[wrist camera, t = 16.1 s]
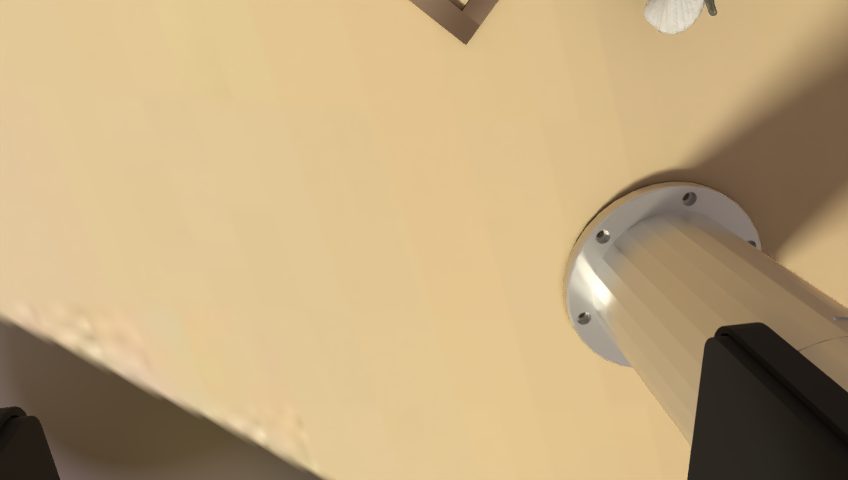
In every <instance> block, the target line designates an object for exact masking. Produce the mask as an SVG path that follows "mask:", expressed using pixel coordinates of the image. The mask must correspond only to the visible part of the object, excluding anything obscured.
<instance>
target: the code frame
mask: <svg viewBox="0 0 848 480" xmlns="http://www.w3.org/2000/svg"><path fill="white" fill-rule="evenodd" d="M410 1H411V2H412V3H414V4H415V5H416V6H417V7H419V8H420V9H421V10H422V11H424V12H425V13H426V14H428V15H429V16H430V17H431V18H433V19H434V20H435V21H436V22H438V23H439V24H440V25H441V26H443V27H444V28H445V29H447V30H448V31H449V32H450V33H452V34H453V35H454V36H455V37H457V38H458V39H459V40H460V41H462V42H463V43H464V44H467V43H468V41H469V40H470V39H471V37H472V36H473V35H474V33H475V32H476V30H477V29H478V28H479V26H480V25H481V24H482V22H483V21H484V19H485V18H486V17H487V15H488V14H489V13H490V11H491V10H492V8H493V7H494V6H495V4H496V3H497V2H498V0H469V1H468V2H467V4H466V5H465V6H464V8H463V9H462V11H461V10H460V9H459V8H458V7H456V6H455V5H454V4H453V3H452V2H450V1H449V0H410Z"/></svg>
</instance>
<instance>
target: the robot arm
mask: <svg viewBox="0 0 848 480" xmlns="http://www.w3.org/2000/svg"><path fill="white" fill-rule="evenodd" d="M685 194H686V195H685ZM684 195H685V196H684ZM600 231H601V233H600V234H599V235H597V234H598V233H599V232H600ZM563 299H564V304H565V309H566V313H567V315H568V318H569V320H570V322H571V324H572V326H573V328H574V330H575V331H576V333H577V334H578V335H579V337H580V339H581V340H582V341H583V342H584V343H585V344H586V345H587V346H588V347H589V348H590V349H591V350H592V351H593V352H594V353H596V354H597V355H599V356H600V357H602V358H603V359H605V360H607V361H610V362H612V363H615V364H617V365H620V366H625V367H631V368H633V369H634V370H635V371H636V373H637V374H638V375H639V377H640V378H641V379H642V381H643V382H644V383H645V385H646V386H647V387H648V389H649V390H650V392H651V393H652V394H653V396H654V397H655V398H656V400H657V401H658V402H659V404H660V405H661V406H662V408H663V409H664V410H665V412H666V413H667V414H668V416H669V417H670V418H671V420H672V421H673V423H674V424H675V425H676V427H677V428H678V429H679V431H680V432H681V433H682V435H683V436H684V437H685V439H686V440H687V441H688V443H689V444H690V445H691V455H690V463H689V471H688V479H687V480H848V308H846V307H845V306H843V305H842V304H840V303H839V302H837V301H836V300H834V299H833V298H831V297H830V296H828V295H827V294H825V293H824V292H822V291H821V290H819V289H818V288H816V287H815V286H813V285H812V284H810V283H809V282H807V281H805V280H804V279H802V278H801V277H799V276H798V275H796V274H795V273H793V272H792V271H790V270H789V269H787V268H786V267H784V266H783V265H781V264H780V263H778V262H777V261H775V260H774V259H772V258H771V257H769V256H768V255H766V254H765V253H763V252H762V251H761V243H760V240H759V236H758V233H757V229H756V228H755V226H754V224H753V222H752V221H751V219H750V217H749V215H748V214H747V213H746V212H745V211H744V210H743V209H742V208H741V207H740V206H739V205H738V204H737V203H736V202H734V201H733V200H731V199H730V198H728V197H727V196H725V195H724V194H722V193H720V192H718V191H716V190H714V189H712V188H710V187H708V186H704V185H700V184H696V183H692V182H665V183H659V184H652V185H649V186H646V187H644V188H641V189H638V190H635V191H632V192H631V193H629V194H627V195H625V196H623V197H621V198H620V199H618V200H616V201H614V202H613V203H612V204H610V205H609V206H608V207H607V208H605V209H604V210H603V211H602V212H600V213H599V214H598V215H597V216H596V217H595V218H594V219H593V221H592V222H591V223H590V224H589V225H588V226H587V227H586V228H585V230H584V231H583V233H582V234H581V236H580V237H579V239H578V240H577V242H576V243H575V245H574V247H573V250H572V252H571V254H570V257H569V259H568V261H567V265H566V270H565V275H564V279H563ZM0 480H60V478H59V475H58V472H57V469H56V466H55V463H54V460H53V458H52V455H51V452H50V449H49V446H48V443H47V440H46V437H45V435H44V432H43V428H42V426H41V423H40V422H39V420H38V419H37V418H36V417H35V416H27V415H26V413H25V412H24V411H23V410H22V409H21V408H19V407H6V408H0Z"/></svg>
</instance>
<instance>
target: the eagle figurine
mask: <svg viewBox="0 0 848 480" xmlns="http://www.w3.org/2000/svg"><path fill="white" fill-rule="evenodd" d="M704 1H705V3H706V6H707V9H708V12H709V14H710V15H712V16H714V15H716V14H717V11H716V7H715V4H714V0H649V1H648V3H647V5H646V7H645V9H644V16H645V18H646V20H647V21H648V22H649V23H650V24H652V25H653V26H654V27H655V28H656V29H657V30H658V31H659V32H661V33H669V34H672V35H674V34H676V33H679V32H683V31H685V30H686V29H687V28H688V27H689V26H690V25H692V24H693V23H694V21H695V20H696V19H697V17H699V15H700V14H701V11H702V8H703V7H704V4H705V3H704Z"/></svg>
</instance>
